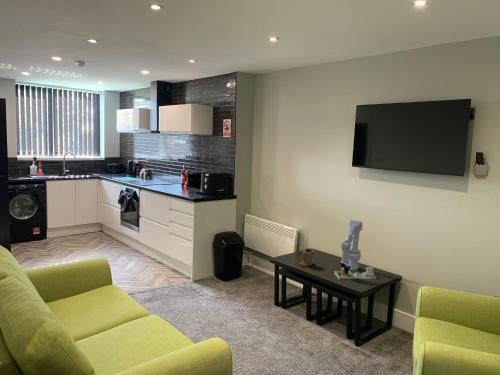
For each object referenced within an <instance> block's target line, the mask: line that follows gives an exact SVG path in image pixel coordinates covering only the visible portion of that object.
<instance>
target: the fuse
mask: <svg viewBox="0 0 500 375" xmlns="http://www.w3.org/2000/svg"><path fill="white" fill-rule="evenodd" d="M365 273H366V274H367V277H368V276H373V273H374V267H371V266H369V267H367V266H366V267H365Z"/></svg>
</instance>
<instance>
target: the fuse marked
mask: <svg viewBox="0 0 500 375" xmlns="http://www.w3.org/2000/svg"><path fill="white" fill-rule="evenodd" d="M340 271H341V273H340V274H341V275H340V276H349V273H348V274H345V273H344V268H341V270H340Z"/></svg>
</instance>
